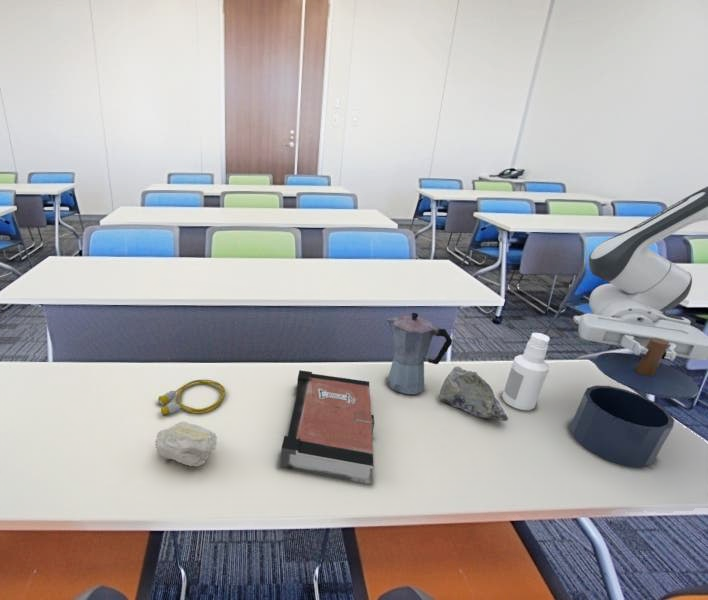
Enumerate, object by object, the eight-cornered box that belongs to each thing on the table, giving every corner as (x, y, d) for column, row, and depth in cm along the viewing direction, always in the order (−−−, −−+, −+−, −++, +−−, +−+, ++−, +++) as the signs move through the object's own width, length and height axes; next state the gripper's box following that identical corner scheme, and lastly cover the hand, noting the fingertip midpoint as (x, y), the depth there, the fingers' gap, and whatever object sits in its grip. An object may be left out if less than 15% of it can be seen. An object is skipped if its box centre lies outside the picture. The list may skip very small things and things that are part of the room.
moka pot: (383, 366, 109) (395, 300, 100) (443, 387, 100) (461, 316, 92) (370, 383, 101) (382, 313, 93) (434, 407, 93) (452, 332, 85)
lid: (674, 367, 80) (692, 331, 77) (713, 411, 68) (737, 371, 65) (585, 351, 86) (598, 317, 83) (606, 388, 74) (623, 350, 70)
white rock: (161, 439, 83) (153, 481, 74) (153, 410, 79) (145, 451, 70) (218, 433, 83) (218, 474, 75) (214, 404, 79) (213, 444, 71)
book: (374, 485, 73) (378, 465, 71) (280, 467, 76) (281, 447, 74) (369, 397, 96) (372, 380, 94) (298, 386, 100) (299, 370, 98)
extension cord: (161, 385, 100) (161, 378, 99) (224, 381, 101) (224, 375, 100) (155, 417, 89) (154, 410, 88) (226, 413, 90) (226, 406, 89)
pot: (638, 431, 87) (656, 396, 83) (665, 477, 76) (688, 438, 72) (563, 413, 92) (578, 379, 88) (578, 453, 81) (595, 416, 77)
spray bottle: (514, 390, 100) (535, 326, 92) (541, 406, 94) (566, 340, 87) (495, 396, 97) (515, 332, 90) (522, 414, 91) (546, 346, 84)
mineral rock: (508, 428, 87) (521, 391, 83) (463, 432, 86) (473, 394, 82) (472, 392, 99) (482, 357, 95) (432, 394, 98) (440, 360, 93)
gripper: (576, 301, 88) (593, 328, 77) (698, 319, 80) (738, 352, 69) (566, 327, 91) (582, 356, 79) (684, 346, 83) (721, 382, 71)
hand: (656, 354), depth 74 cm, fingers closed on lid, 2 cm apart
